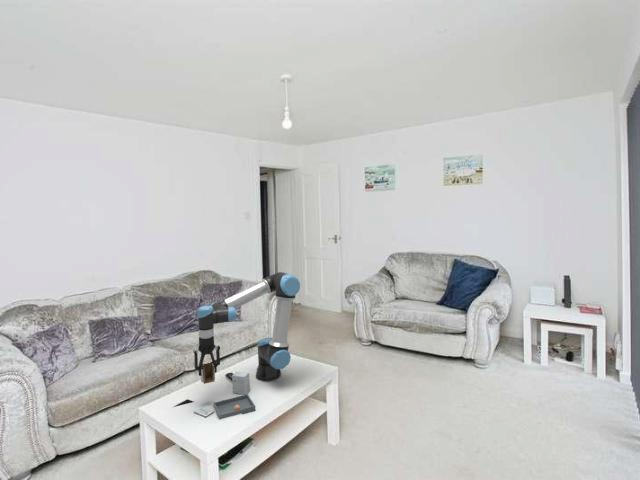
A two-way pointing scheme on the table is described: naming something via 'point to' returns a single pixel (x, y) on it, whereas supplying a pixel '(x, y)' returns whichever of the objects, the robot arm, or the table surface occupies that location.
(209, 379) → the brown wooden bin
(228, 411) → the tray
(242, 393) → the small box
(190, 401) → the smartphone
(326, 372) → the table surface
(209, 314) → the robot arm
